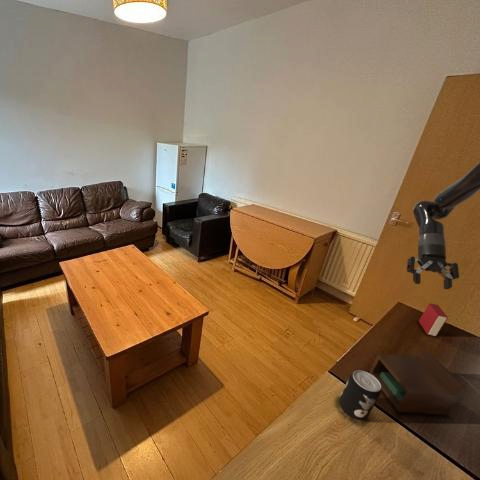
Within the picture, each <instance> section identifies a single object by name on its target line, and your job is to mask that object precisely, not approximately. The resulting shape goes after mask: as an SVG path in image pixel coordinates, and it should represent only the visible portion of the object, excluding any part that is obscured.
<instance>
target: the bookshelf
mask: <svg viewBox="0 0 480 480" xmlns="http://www.w3.org/2000/svg"><path fill="white" fill-rule="evenodd" d="M368 373H370V374H371V375H373V376H374V377H375V378H376V379H377V380H378V381H379V382H380V384H381V391H382V392H383V394H384V395H385V396H386V397H387V398H388V400H389V401H390V402H391V404H392V405H393V407H394V408H395V409H396V410H397V412H398V413H412V414H427V415H428V414H429V415H443V416H444V415H445V416H446V415H447V414H448V413H449V412H450V411H451V409H452V408H453V406H455V404H456V403H457V402H458V400H459V399H460V397H462V395H463V394H464V392H465V391H466V390H467V386H466V385H464V384H463V383H462V382H461V381H460V380H459V379H458V378H457V377H456V376H455V375H453V374H452V372H450V371H449V369H448V368H446V367H445V366H444V365H443V364H442V363H440V361H438V359H437V358H436V357H434V356H433V355H432V354H431V353H430V352H429V351H428V350H427V349H426V348H421V349H420V350H419V352H418V354H417V355H408V354H407V355H406V354H405V355H404V354H381V353H378V354H377V355H376V357H375V359H374V361H373V363H372V365H371V367H370V368H369V371H368Z"/></svg>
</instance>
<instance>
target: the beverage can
mask: <svg viewBox="0 0 480 480" xmlns="http://www.w3.org/2000/svg"><path fill="white" fill-rule="evenodd" d="M381 394H382V389H381V384H380V382H379V381H378V380H377V379H376V378H375V377H374V376H373V375H371V374H370V373H369V372H368V371H364V370H361V369H360V370H359V369H358V370H355V371H354V372H352V373H351V374H349V377H348V379H347V381H346V383H345V385H344V387H343V388H342V392H341V393H340V396H339V398H338V405H339V406H340V408H341V410H342V411H343V412H344V414H346V415H347V416H348V417H350V418H351V419H354V420H357V421H364V420H365V421H366V420H367V419H368V417H369V416H370V414H371V412H372V410H373V409H374V407H375V405H376V403H377V401H378V400H379V398H380V396H381Z"/></svg>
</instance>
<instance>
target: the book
mask: <svg viewBox="0 0 480 480" xmlns="http://www.w3.org/2000/svg"><path fill="white" fill-rule="evenodd" d="M448 319H449V317H448V316H447V314H446V313H445V312H444V310H442V308H441V307H440V306H439V304H434V303H430V302H429V303H428V304H427V306H426V308H425V309H424V311H423V313H422V315H421V316H420V318H419V320H418V323H419V325H420V326H421V328H422V329H423V331H424V332H425V334H426V335H429V336H433V337H437V336H438V335H439V333H440V331H441V330H442V328H443V326H444V325H445V323H446V322H447V320H448Z"/></svg>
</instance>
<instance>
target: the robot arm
mask: <svg viewBox="0 0 480 480" xmlns="http://www.w3.org/2000/svg"><path fill="white" fill-rule="evenodd" d="M479 191H480V161H479V162H478V163H477V164H476V165H475V166H473V167H472V168H471V170H469V171H468V172H467V173H466V174H465V175H463V176H462V177H460V178H459V179H458V180H455V182H453V183H452V184H450V185H448V186H447V187H446V188H445V189H443V190H441V191H440V192H438V193H437V194H435V197H434V200H433V201H431V200H420V201H418V202H416V203H415V205H414V206H413V208H412V214H413V217H414V220H415V222H416V224H417V226H418V240H417V258H416V257H415V256H410V257H409V258H407V262H406V272H407V273H410V274H412V281H413V283H414V284H415V285H419V284H421V282H422V281H421V280H422V279H421V272H423V271H425V272H431V273H437V274H438V275H439V276H440V277H442V278H443V289H444V290H450V289H451V288H452V287H453V281H454V280H457V279H459V278H460V271H459V265H458V264H459V263H457V262H453V263H452V262H447V260H446V259H447V247H446V246H447V245H446V244H447V243H446V242H447V241H446V237H445V225H444V223H443V222H441V221H438V220H443V219H446V218H447V217H448V216H449V215H450V214H451V213H452V212H453V211H454V209H456V207H457V206H459V205H461V204H462V203H464V202H466V201H467V200H469V199H470V198H472V197H473V196H475V195H476V194H477V193H478V192H479ZM416 263H417V264H418V265H419V266H418V267H416V268H415V265H416ZM446 267H447V268H446Z"/></svg>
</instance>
